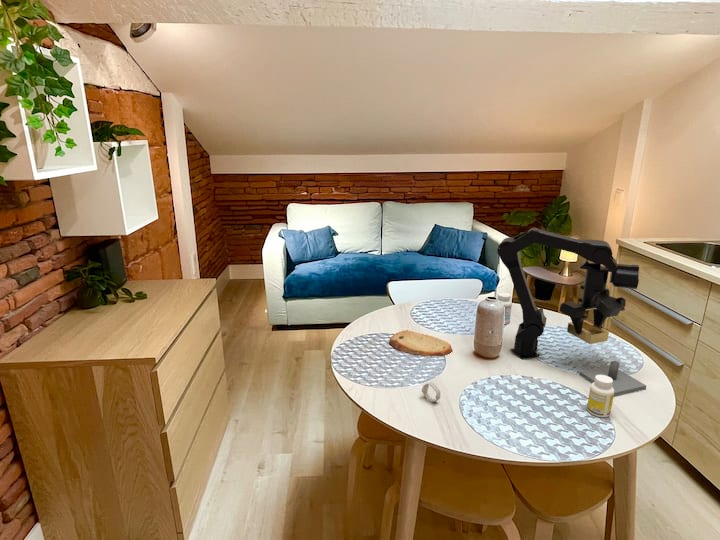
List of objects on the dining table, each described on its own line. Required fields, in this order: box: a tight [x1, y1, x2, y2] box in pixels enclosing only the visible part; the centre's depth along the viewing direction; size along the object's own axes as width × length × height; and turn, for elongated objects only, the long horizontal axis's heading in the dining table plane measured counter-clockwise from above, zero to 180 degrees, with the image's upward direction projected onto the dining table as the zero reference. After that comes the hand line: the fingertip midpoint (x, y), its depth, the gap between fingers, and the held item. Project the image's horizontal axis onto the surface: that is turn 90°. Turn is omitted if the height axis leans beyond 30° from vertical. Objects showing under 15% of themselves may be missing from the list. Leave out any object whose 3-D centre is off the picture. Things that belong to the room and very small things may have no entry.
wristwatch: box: [421, 381, 441, 403], centre depth 117 cm, size 3×5×5 cm, turn 41°
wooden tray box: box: [566, 319, 610, 345], centre depth 132 cm, size 7×9×3 cm
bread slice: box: [388, 329, 454, 358], centre depth 147 cm, size 18×18×4 cm
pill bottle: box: [495, 292, 513, 325], centre depth 165 cm, size 6×6×11 cm
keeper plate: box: [578, 360, 647, 397], centre depth 125 cm, size 12×12×6 cm
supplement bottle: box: [586, 375, 615, 418], centre depth 111 cm, size 5×5×10 cm
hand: (587, 332), depth 132 cm, fingers closed on wooden tray box, 7 cm apart
